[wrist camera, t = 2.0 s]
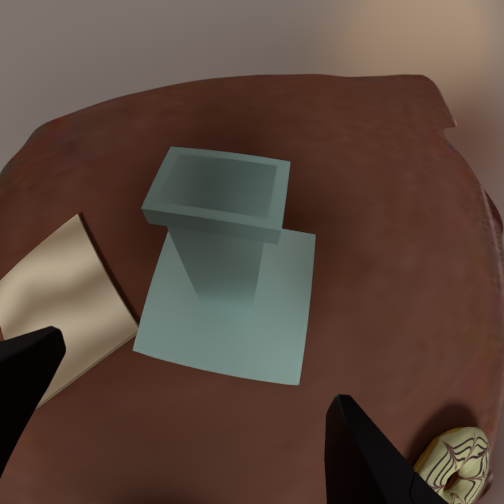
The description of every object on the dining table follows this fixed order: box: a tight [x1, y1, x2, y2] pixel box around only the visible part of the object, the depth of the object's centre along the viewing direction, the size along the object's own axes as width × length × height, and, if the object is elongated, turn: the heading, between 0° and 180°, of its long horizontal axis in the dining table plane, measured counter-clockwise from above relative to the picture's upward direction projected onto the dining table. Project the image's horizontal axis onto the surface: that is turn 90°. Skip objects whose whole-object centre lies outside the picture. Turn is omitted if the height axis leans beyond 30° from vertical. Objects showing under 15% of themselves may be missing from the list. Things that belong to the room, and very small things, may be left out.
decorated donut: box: [413, 427, 490, 504], centre depth 13 cm, size 10×11×4 cm
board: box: [0, 214, 139, 409], centre depth 20 cm, size 14×14×1 cm
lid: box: [133, 147, 316, 385], centre depth 13 cm, size 10×10×12 cm
